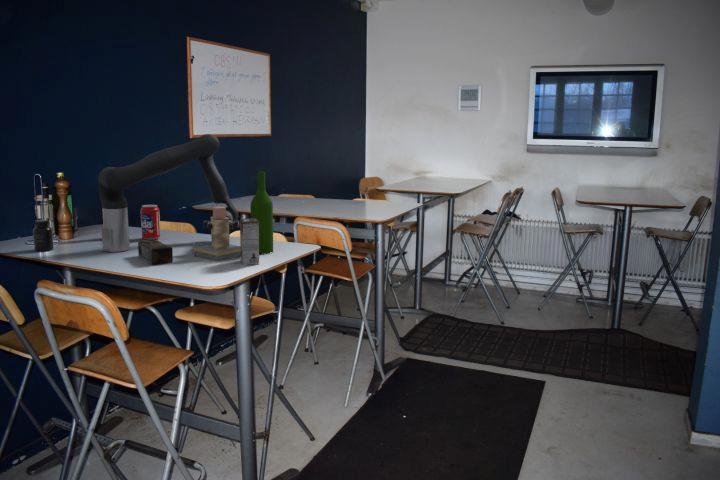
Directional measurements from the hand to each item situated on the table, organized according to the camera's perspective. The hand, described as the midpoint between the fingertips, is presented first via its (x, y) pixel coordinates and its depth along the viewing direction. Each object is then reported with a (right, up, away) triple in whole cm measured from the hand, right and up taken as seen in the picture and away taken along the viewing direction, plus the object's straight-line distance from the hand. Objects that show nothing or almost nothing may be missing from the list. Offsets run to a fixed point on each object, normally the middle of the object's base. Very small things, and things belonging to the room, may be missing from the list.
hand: (219, 227), depth 227 cm
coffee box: (+13, -14, -7) cm, 20 cm away
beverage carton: (-23, -13, -5) cm, 27 cm away
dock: (-1, -11, +4) cm, 12 cm away
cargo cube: (0, +4, +1) cm, 4 cm away
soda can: (-39, -5, +34) cm, 52 cm away
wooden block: (0, -8, +3) cm, 9 cm away
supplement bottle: (-72, -9, +7) cm, 73 cm away
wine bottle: (+15, -10, +11) cm, 21 cm away
